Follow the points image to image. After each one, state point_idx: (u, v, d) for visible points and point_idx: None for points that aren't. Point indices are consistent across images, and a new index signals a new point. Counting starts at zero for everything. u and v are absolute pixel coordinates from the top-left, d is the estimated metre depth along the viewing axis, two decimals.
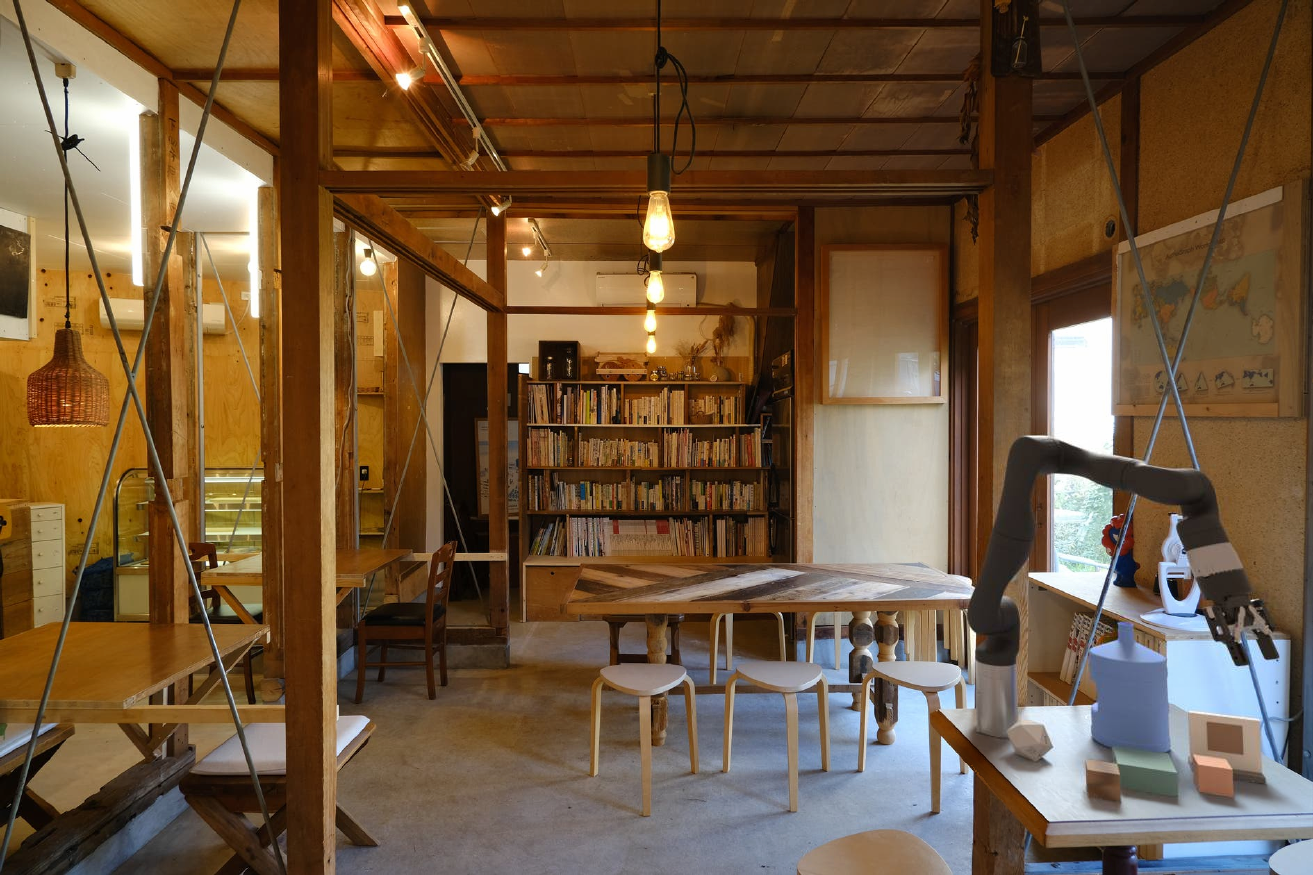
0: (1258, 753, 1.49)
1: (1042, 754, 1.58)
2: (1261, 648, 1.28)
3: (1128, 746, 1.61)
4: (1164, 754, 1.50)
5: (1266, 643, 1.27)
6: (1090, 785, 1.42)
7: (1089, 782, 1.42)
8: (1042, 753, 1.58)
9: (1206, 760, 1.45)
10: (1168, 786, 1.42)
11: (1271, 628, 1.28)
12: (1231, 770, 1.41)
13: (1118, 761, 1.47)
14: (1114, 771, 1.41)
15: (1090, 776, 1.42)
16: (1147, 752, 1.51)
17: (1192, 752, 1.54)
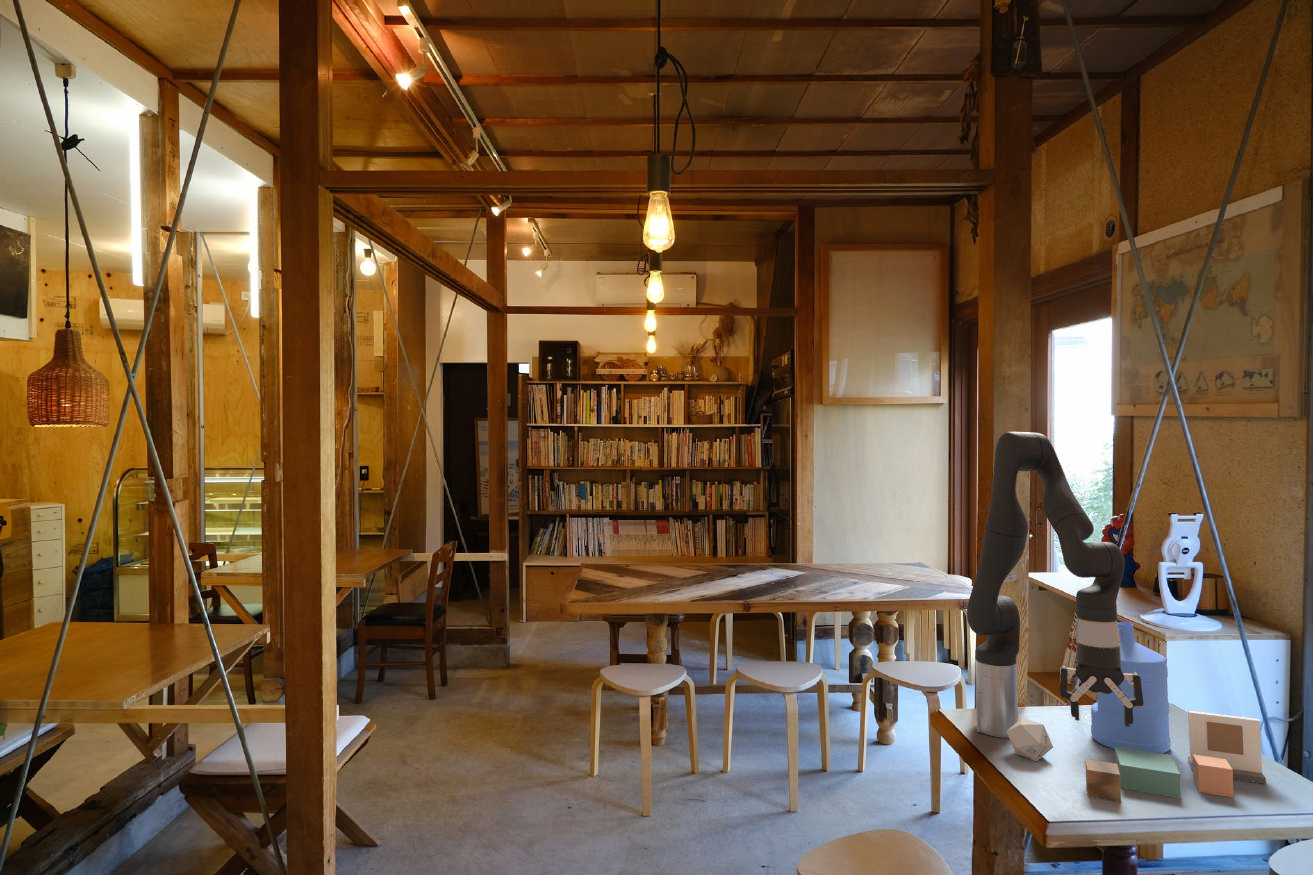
0: (1258, 753, 1.49)
1: (1042, 754, 1.58)
2: None
3: (1128, 746, 1.61)
4: (1167, 755, 1.50)
5: (1124, 711, 1.41)
6: (1090, 785, 1.42)
7: (1089, 782, 1.42)
8: (1042, 753, 1.58)
9: (1206, 760, 1.45)
10: (1171, 787, 1.42)
11: (1136, 702, 1.40)
12: (1231, 770, 1.41)
13: (1121, 762, 1.47)
14: (1114, 771, 1.41)
15: (1090, 776, 1.42)
16: (1150, 753, 1.51)
17: (1192, 752, 1.54)
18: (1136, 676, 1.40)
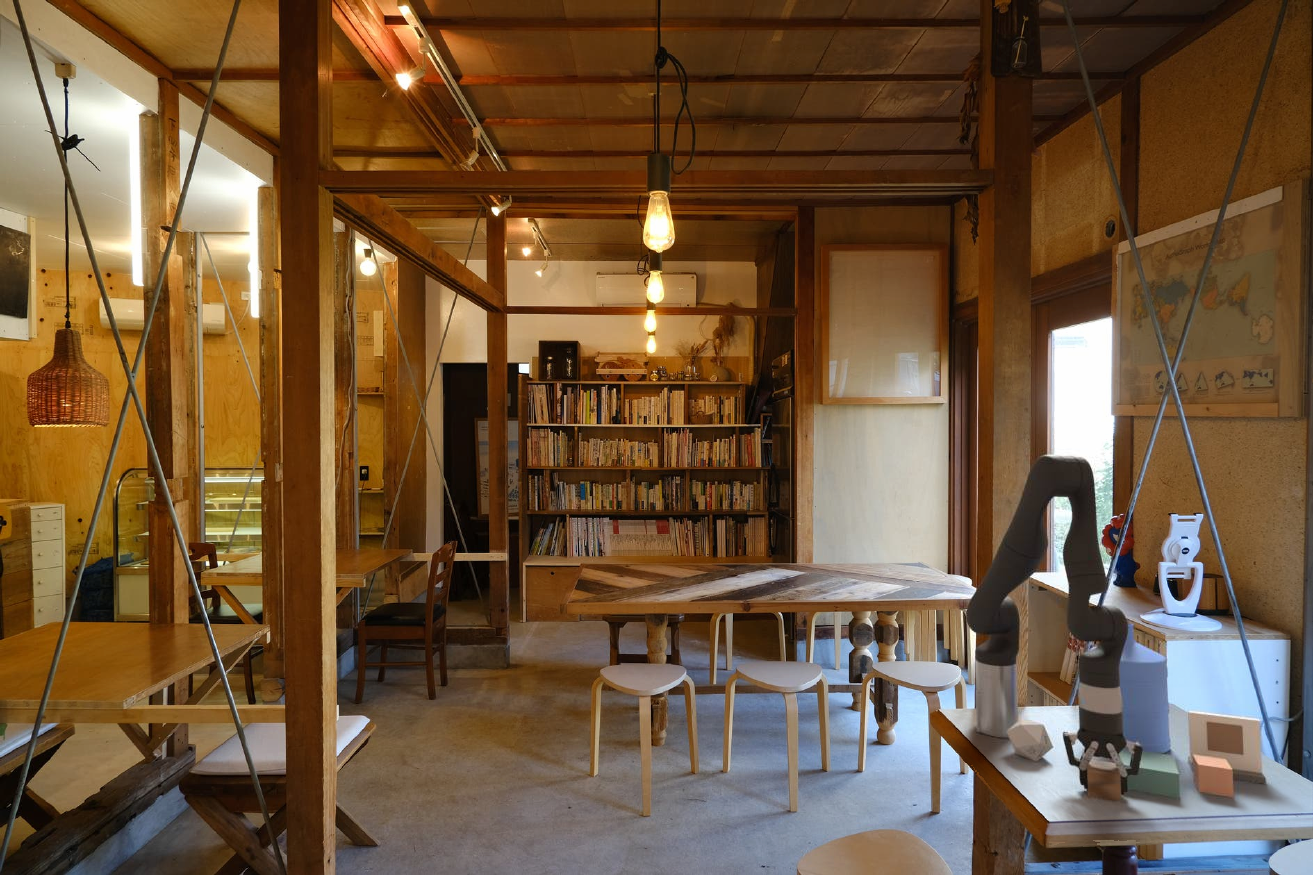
0: (1258, 753, 1.49)
1: (1042, 754, 1.58)
2: None
3: None
4: (1168, 755, 1.49)
5: None
6: (1090, 785, 1.42)
7: (1089, 782, 1.42)
8: (1042, 753, 1.58)
9: (1205, 760, 1.45)
10: (1170, 787, 1.42)
11: (1130, 770, 1.40)
12: (1231, 770, 1.41)
13: None
14: (1114, 771, 1.41)
15: (1090, 776, 1.42)
16: (1151, 753, 1.51)
17: (1192, 752, 1.54)
18: (1139, 747, 1.39)
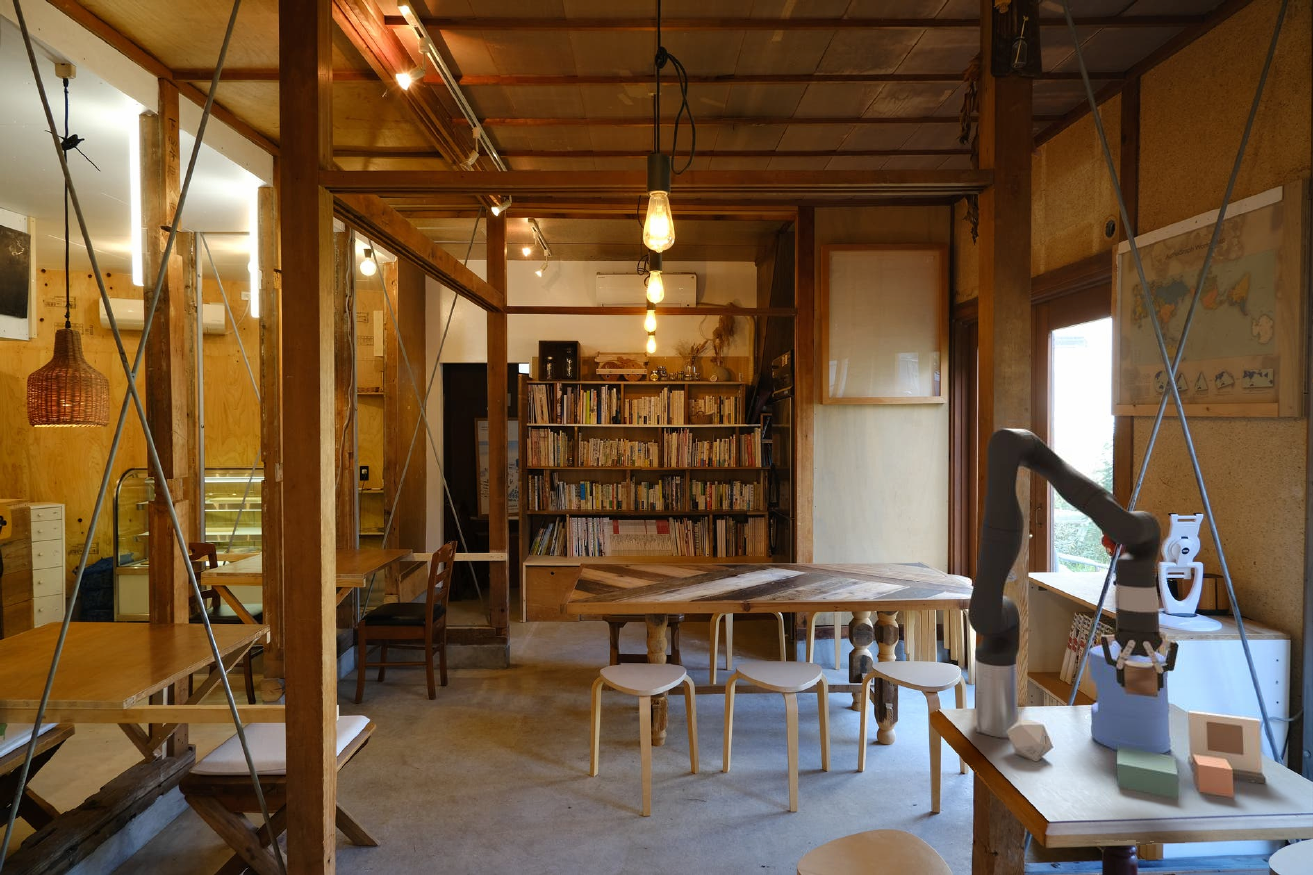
0: (1258, 753, 1.49)
1: (1042, 754, 1.58)
2: None
3: (1128, 746, 1.61)
4: (1170, 756, 1.49)
5: None
6: (1127, 682, 1.47)
7: (1126, 679, 1.48)
8: (1042, 753, 1.58)
9: (1205, 760, 1.45)
10: (1168, 788, 1.42)
11: (1166, 666, 1.46)
12: (1231, 770, 1.41)
13: (1118, 761, 1.47)
14: (1151, 668, 1.47)
15: (1127, 673, 1.47)
16: (1152, 754, 1.50)
17: (1192, 752, 1.54)
18: (1175, 643, 1.45)
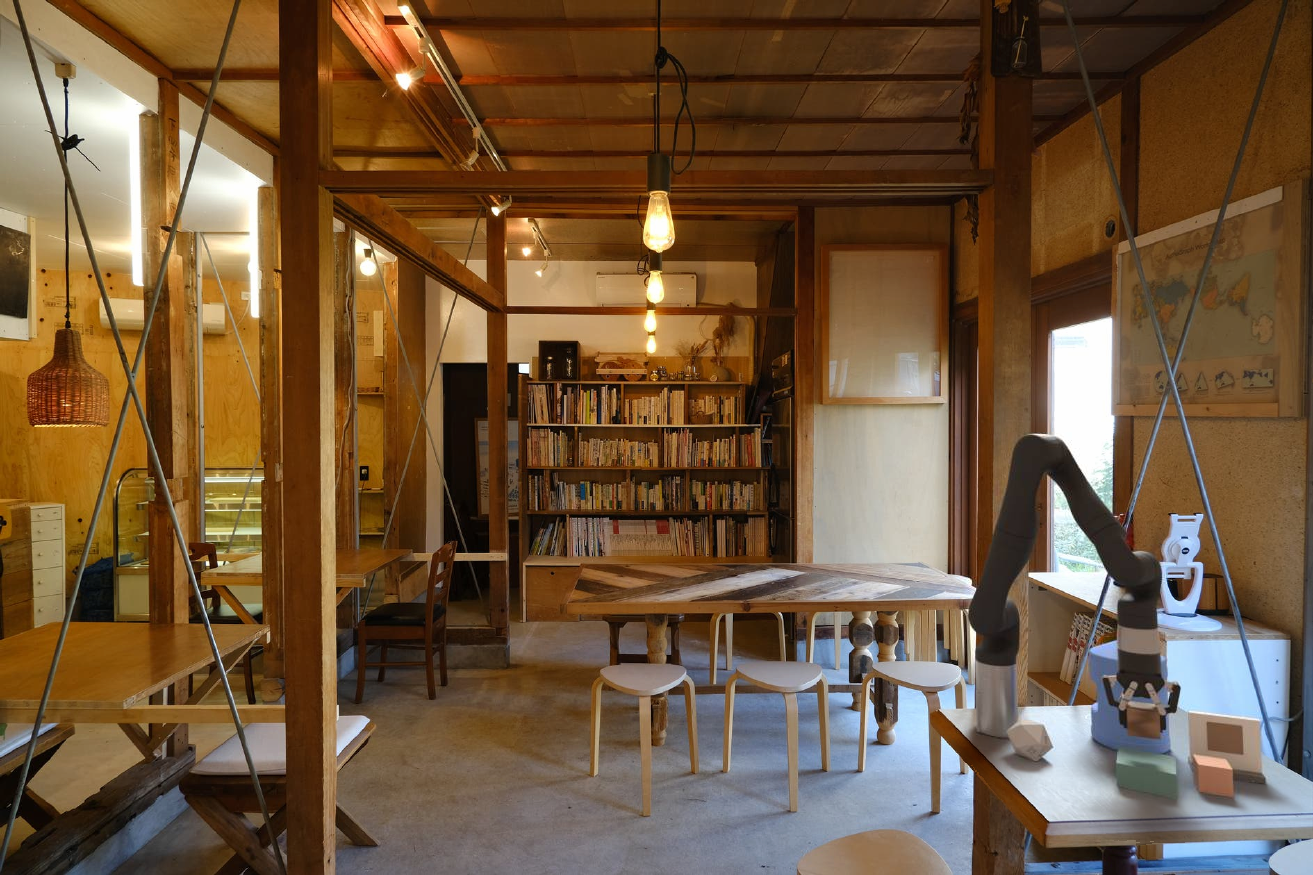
0: (1258, 753, 1.49)
1: (1042, 754, 1.58)
2: None
3: (1128, 746, 1.61)
4: (1170, 757, 1.49)
5: None
6: (1130, 723, 1.47)
7: (1129, 721, 1.47)
8: (1042, 753, 1.58)
9: (1206, 760, 1.45)
10: (1167, 788, 1.42)
11: (1169, 708, 1.46)
12: (1231, 770, 1.41)
13: (1118, 760, 1.47)
14: (1153, 710, 1.46)
15: (1130, 715, 1.47)
16: (1153, 754, 1.50)
17: (1192, 752, 1.54)
18: (1177, 685, 1.45)
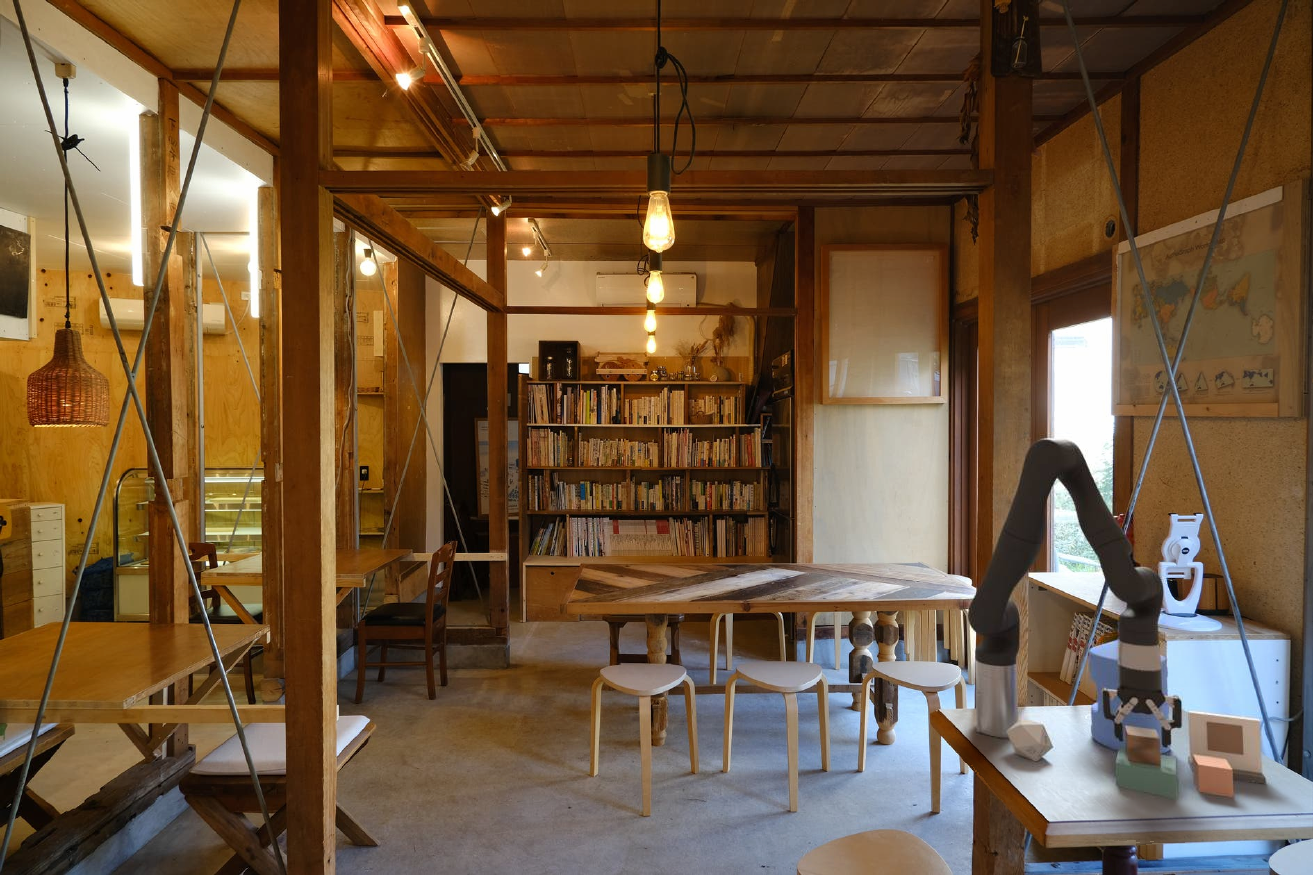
0: (1258, 753, 1.49)
1: (1042, 754, 1.58)
2: (1161, 734, 1.48)
3: None
4: (1171, 757, 1.49)
5: (1162, 733, 1.47)
6: (1130, 749, 1.47)
7: (1129, 746, 1.47)
8: (1042, 753, 1.58)
9: (1206, 760, 1.45)
10: (1166, 788, 1.42)
11: (1174, 724, 1.45)
12: (1231, 770, 1.41)
13: (1117, 760, 1.48)
14: (1153, 736, 1.46)
15: (1130, 741, 1.47)
16: None
17: (1192, 752, 1.54)
18: (1177, 699, 1.45)
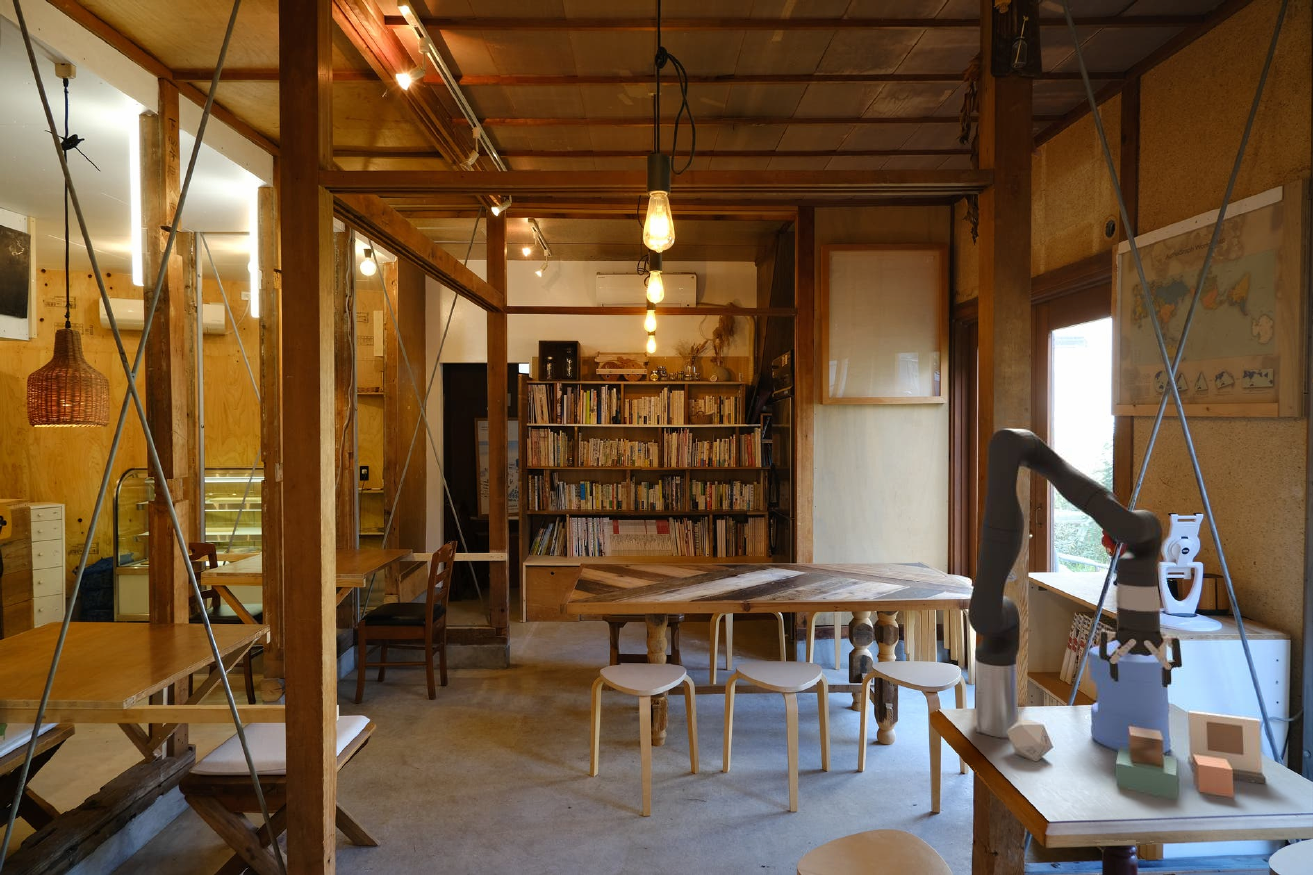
0: (1258, 753, 1.49)
1: (1042, 754, 1.58)
2: (1162, 674, 1.48)
3: (1128, 746, 1.61)
4: (1172, 758, 1.48)
5: (1162, 673, 1.47)
6: (1133, 750, 1.47)
7: (1132, 747, 1.47)
8: (1042, 753, 1.58)
9: (1206, 760, 1.45)
10: (1167, 788, 1.41)
11: (1174, 663, 1.45)
12: (1231, 770, 1.41)
13: (1118, 761, 1.47)
14: (1157, 737, 1.46)
15: (1133, 741, 1.47)
16: None
17: (1192, 752, 1.54)
18: (1175, 639, 1.45)
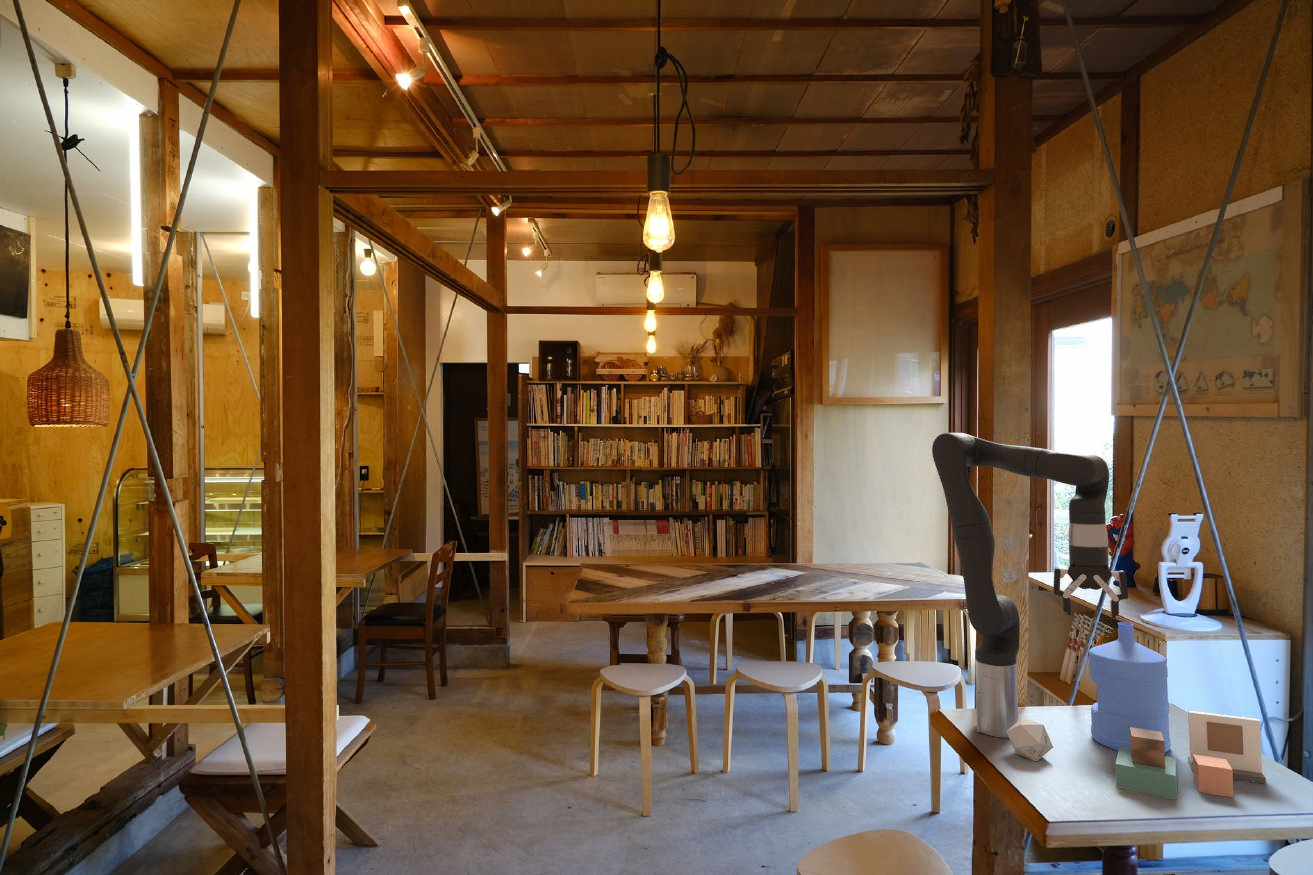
0: (1258, 753, 1.49)
1: (1042, 754, 1.58)
2: None
3: (1128, 746, 1.61)
4: (1171, 758, 1.48)
5: (1111, 605, 1.57)
6: (1134, 751, 1.46)
7: (1133, 748, 1.46)
8: (1042, 753, 1.58)
9: (1206, 760, 1.45)
10: (1166, 789, 1.41)
11: (1121, 596, 1.56)
12: (1231, 770, 1.41)
13: (1117, 761, 1.47)
14: (1158, 738, 1.45)
15: (1134, 742, 1.46)
16: None
17: (1192, 752, 1.54)
18: (1122, 572, 1.55)
